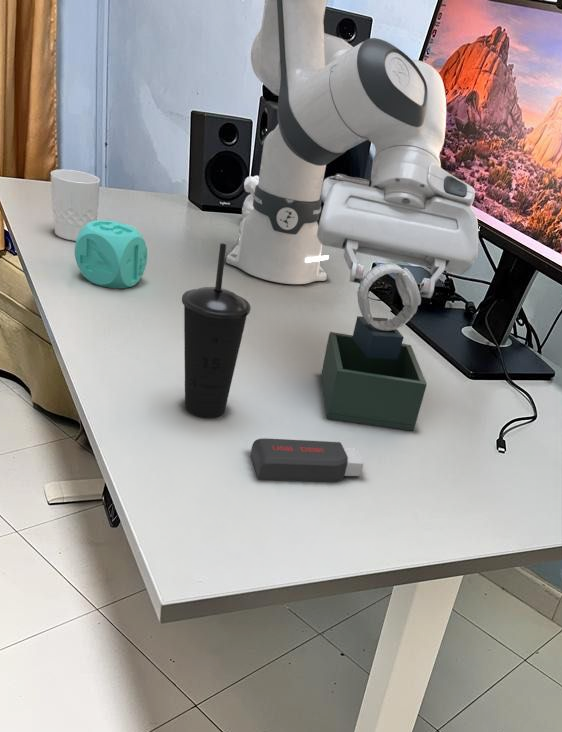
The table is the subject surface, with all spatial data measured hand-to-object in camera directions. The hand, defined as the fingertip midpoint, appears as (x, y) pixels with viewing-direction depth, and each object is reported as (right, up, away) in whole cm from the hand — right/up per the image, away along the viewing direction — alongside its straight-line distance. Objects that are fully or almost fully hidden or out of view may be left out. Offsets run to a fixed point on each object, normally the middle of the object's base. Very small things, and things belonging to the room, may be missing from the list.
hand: (391, 288), depth 95 cm
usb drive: (-10, -23, -8) cm, 26 cm away
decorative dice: (-43, +9, +27) cm, 52 cm away
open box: (-3, -13, +10) cm, 16 cm away
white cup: (-54, +21, +41) cm, 71 cm away
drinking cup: (-23, -15, -1) cm, 28 cm away
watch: (-2, -7, +5) cm, 9 cm away
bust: (-26, +34, +70) cm, 82 cm away
